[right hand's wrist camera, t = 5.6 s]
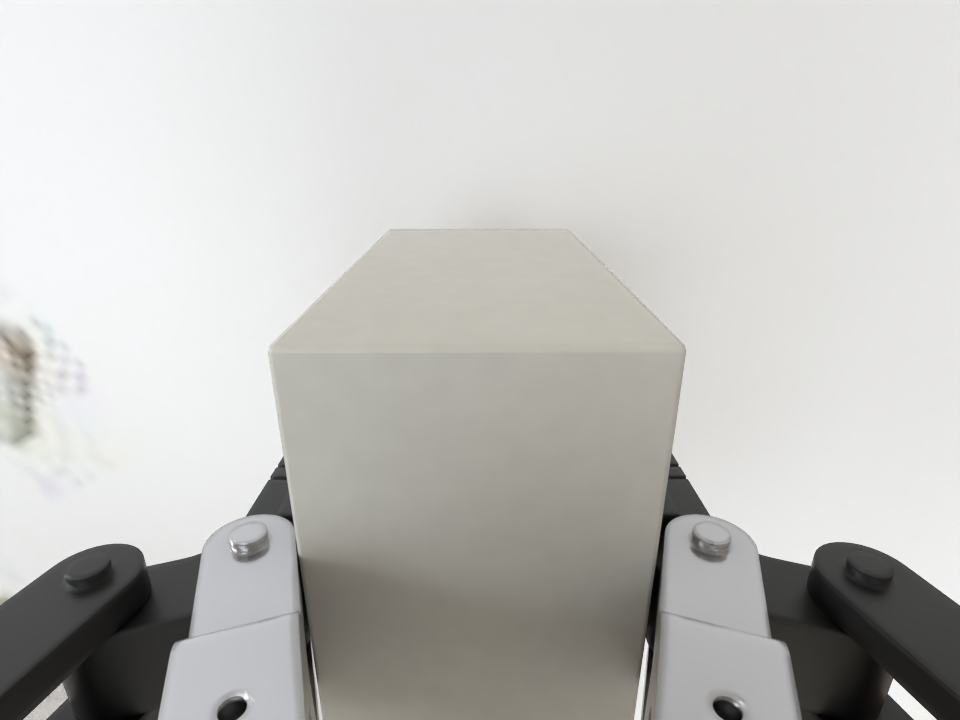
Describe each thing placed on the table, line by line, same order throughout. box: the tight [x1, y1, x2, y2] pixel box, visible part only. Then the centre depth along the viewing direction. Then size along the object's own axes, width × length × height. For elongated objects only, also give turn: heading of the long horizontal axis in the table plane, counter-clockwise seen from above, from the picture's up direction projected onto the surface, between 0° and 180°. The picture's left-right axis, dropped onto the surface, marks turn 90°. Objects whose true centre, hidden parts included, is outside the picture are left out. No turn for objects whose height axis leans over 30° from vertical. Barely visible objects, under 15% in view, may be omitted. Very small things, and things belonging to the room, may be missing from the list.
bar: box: [268, 229, 686, 720], centre depth 15 cm, size 23×5×9 cm, turn 0°
